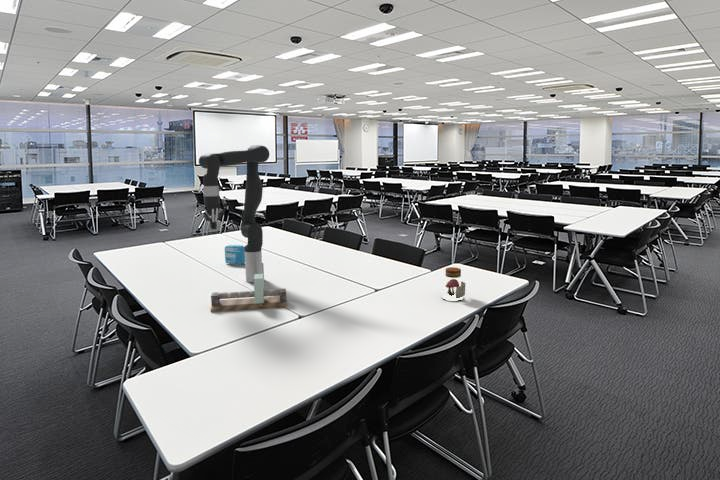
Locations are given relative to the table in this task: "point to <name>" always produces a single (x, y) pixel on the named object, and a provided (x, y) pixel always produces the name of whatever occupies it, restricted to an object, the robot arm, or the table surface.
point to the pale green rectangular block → (259, 288)
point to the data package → (234, 254)
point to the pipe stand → (247, 300)
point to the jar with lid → (455, 282)
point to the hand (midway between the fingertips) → (213, 229)
